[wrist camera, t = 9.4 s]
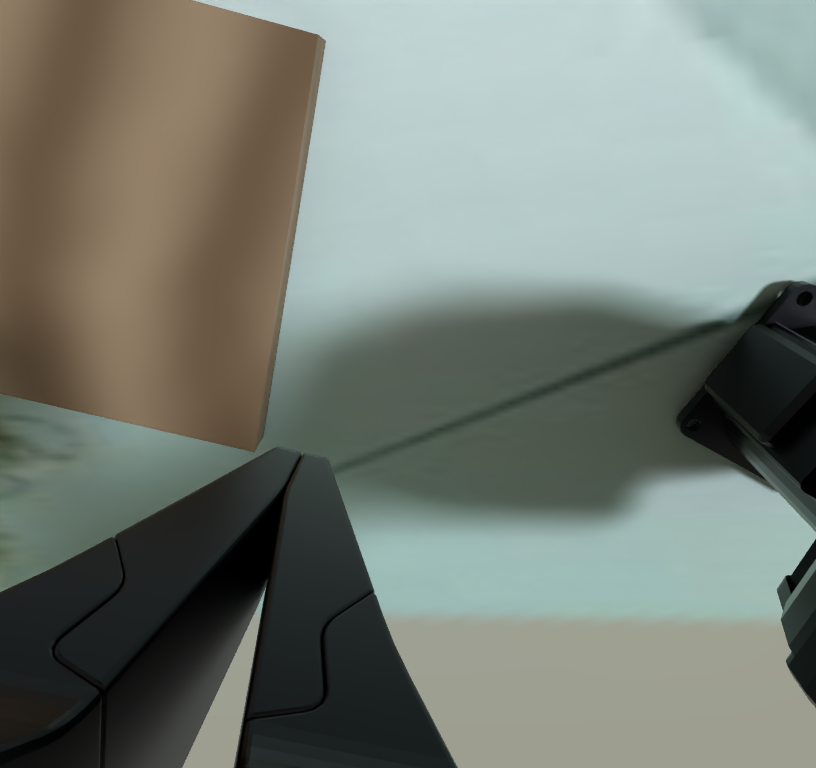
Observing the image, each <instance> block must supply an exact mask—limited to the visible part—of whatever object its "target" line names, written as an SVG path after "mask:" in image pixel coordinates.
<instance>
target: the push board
mask: <svg viewBox="0 0 816 768" xmlns="http://www.w3.org/2000/svg"><path fill="white" fill-rule="evenodd" d="M325 43H326V41H325V40H324V39H323V38H321V37H320V36H319V35H317V34H313V33H309V32H306V31H302V30H299V29H295V28H291V27H288V26H284V25H280V24H277V23H273V22H269V21H266V20H262V19H258V18H255V17H251V16H247V15H244V14H240V13H237V12H233V11H229V10H226V9H222V8H218V7H215V6H211V5H207V4H204V3H200V2H196V1H193V0H0V394H5V395H9V396H13V397H18V398H22V399H26V400H31V401H35V402H39V403H44V404H48V405H52V406H57V407H61V408H65V409H70V410H74V411H78V412H83V413H87V414H91V415H96V416H100V417H105V418H109V419H113V420H118V421H122V422H126V423H131V424H135V425H139V426H144V427H148V428H152V429H157V430H161V431H165V432H170V433H174V434H178V435H183V436H187V437H191V438H196V439H200V440H204V441H209V442H213V443H218V444H222V445H226V446H231V447H235V448H239V449H244V450H248V451H252V452H255V450H256V448H257V447H258V445H259V443H260V441H261V439H262V438H263V434H264V428H265V422H266V415H267V409H268V403H269V396H270V390H271V384H272V377H273V371H274V365H275V358H276V352H277V346H278V339H279V333H280V327H281V321H282V314H283V308H284V302H285V295H286V289H287V283H288V276H289V270H290V264H291V257H292V251H293V245H294V238H295V232H296V226H297V219H298V213H299V207H300V201H301V194H302V188H303V182H304V175H305V169H306V163H307V156H308V150H309V144H310V137H311V131H312V125H313V118H314V112H315V106H316V99H317V93H318V87H319V81H320V74H321V68H322V62H323V55H324V49H325Z"/></svg>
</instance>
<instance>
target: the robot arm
mask: <svg viewBox="0 0 816 768" xmlns="http://www.w3.org/2000/svg"><path fill="white" fill-rule="evenodd" d="M802 292H806V296H805V298H804V299H803V300H802V301H801V302H798V303H797V297H798V295H799V294H801V293H802ZM694 419H697V421H696V423H695V424H694V425H693V426H687V425H688V423H689V422H690V421H691V420H694ZM676 424H677V427H678V428H679V430H680V431H681V432H682V433H683V434H684V435H685V436H687V437H689V438H691V439H692V440H694V441H696V442H698V443H700V444H701V445H703V446H705V447H707V448H709V449H710V450H712V451H714V452H716V453H718V454H720V455H721V456H723V457H725V458H727V459H729V460H730V461H732V462H734V463H736V464H738V465H740V466H741V467H743V468H745V469H747V470H749V471H750V472H752V473H754V474H756V475H758V476H759V477H761V478H763V479H765V480H767V481H768V482H769V483H770V484H771V485H772V486H773V487H774V488H775V489H776V490H777V492H778V493H779V494H780V495H781V496H782V497H783V498H784V499H785V500H786V501H787V502H788V503H789V504H790V505H791V506H792V507H793V508H794V509H795V510H796V512H797V513H798V514H799V515H800V516H801V517H802V518H803V519H804V520H805V521H806V522H807V523H808V524H809V525H810V526H811V527H812V528H813V529H814V531H815V532H816V286H815V285H812V284H810V283H807V282H804V281H799V282H795V283H793V284H791V285H790V286H789V287H788V288H786V289H785V291H784V292H783V293H782V294H781V295H780V297H779V298H778V299H777V300H776V301H775V302H774V304H773V305H772V306H771V307H770V308H769V309H768V311H767V312H766V313H765V314H764V315H763V317H762V318H761V319H760V320H759V321H758V322H757V324H756V325H755V326H752V327H751V328H750V329H749V330H748V331H747V332H746V333H745V335H744V336H743V337H742V338H741V339H740V340H739V342H738V343H737V344H736V345H735V346H734V348H733V349H732V350H731V351H730V352H729V353H728V355H727V356H726V357H725V358H724V359H723V360H722V362H721V363H720V364H719V365H718V366H717V368H716V369H715V370H714V371H713V372H712V373H711V375H710V376H709V377H708V378H707V379H706V381H705V385H704V386H703V387H702V388H701V389H700V391H699V392H698V393H697V394H696V395H695V396H694V398H693V399H692V400H691V401H690V402H689V403H688V405H687V406H686V407H685V408H684V409H683V411H682V412H681V413H680V414H679V416H678V417H677V420H676ZM265 588H266V590H265ZM264 590H265V596H264V601H263V607H262V613H261V618H260V624H259V629H258V635H257V640H256V647H255V652H254V657H253V664H252V668H251V674H250V680H249V686H248V691H247V696H246V703H245V708H244V713H243V719H242V725H241V730H240V736H239V741H238V747H237V752H236V758H235V763H234V768H458V767H457V765H456V764H455V762H454V760H453V758H452V756H451V754H450V752H449V750H448V748H447V746H446V745H445V743H444V741H443V739H442V737H441V735H440V733H439V731H438V729H437V727H436V725H435V723H434V722H433V720H432V718H431V716H430V714H429V712H428V710H427V708H426V706H425V704H424V702H423V700H422V699H421V697H420V695H419V693H418V691H417V689H416V687H415V685H414V683H413V681H412V679H411V677H410V675H409V673H408V671H407V669H406V667H405V665H404V663H403V661H402V659H401V657H400V655H399V653H398V651H397V649H396V646H395V644H394V642H393V639H392V637H391V634H390V632H389V629H388V627H387V624H386V622H385V619H384V617H383V614H382V611H381V608H380V605H379V602H378V599H377V597H376V595H375V594H374V589H373V586H372V583H371V580H370V577H369V574H368V572H367V569H366V566H365V563H364V560H363V557H362V554H361V552H360V549H359V546H358V543H357V540H356V537H355V534H354V532H353V529H352V526H351V523H350V520H349V517H348V514H347V511H346V509H345V506H344V503H343V500H342V497H341V494H340V491H339V489H338V486H337V483H336V480H335V477H334V474H333V471H332V469H331V466H330V463H329V461H328V459H327V458H324V457H320V456H315V455H311V454H303V455H302V457H301V453H300V452H298V451H294V450H289V449H285V448H281V447H276V448H274V449H272V450H270V451H268V452H266V453H265V454H263V455H261V456H259V457H257V458H255V459H254V460H252V461H250V462H248V463H246V464H244V465H243V466H241V467H239V468H237V469H235V470H233V471H232V472H230V473H228V474H226V475H224V476H222V477H221V478H219V479H217V480H215V481H213V482H211V483H210V484H208V485H206V486H204V487H202V488H200V489H199V490H197V491H195V492H193V493H191V494H190V495H188V496H186V497H184V498H182V499H180V500H179V501H177V502H175V503H173V504H171V505H169V506H168V507H166V508H164V509H162V510H160V511H158V512H157V513H155V514H153V515H151V516H149V517H147V518H146V519H144V520H142V521H140V522H138V523H136V524H135V525H133V526H131V527H129V528H127V529H125V530H124V531H122V532H120V533H118V534H116V536H115V538H113V537H111V538H109V539H107V540H105V541H103V542H101V543H99V544H98V545H96V546H94V547H92V548H90V549H88V550H86V551H84V552H83V553H81V554H79V555H77V556H75V557H73V558H71V559H69V560H67V561H65V562H63V563H61V564H59V565H57V566H55V567H53V568H51V569H50V570H47V571H45V572H43V573H41V574H39V575H37V576H34V577H32V578H30V579H28V580H26V581H24V582H21V583H19V584H17V585H15V586H13V587H11V588H8V589H6V590H4V591H2V592H0V768H182V767H183V765H184V762H185V760H186V758H187V756H188V754H189V751H190V750H191V747H192V745H193V743H194V741H195V739H196V736H197V735H198V732H199V730H200V728H201V726H202V724H203V722H204V720H205V718H206V715H207V713H208V711H209V709H210V707H211V705H212V703H213V700H214V698H215V696H216V694H217V692H218V690H219V688H220V685H221V683H222V681H223V679H224V677H225V675H226V673H227V670H228V668H229V666H230V664H231V662H232V660H233V658H234V656H235V653H236V651H237V649H238V647H239V645H240V643H241V640H242V638H243V636H244V634H245V632H246V630H247V628H248V626H249V623H250V621H251V619H252V617H253V615H254V613H255V611H256V608H257V606H258V604H259V602H260V599H261V597H262V595H263V593H264ZM777 593H778V596H779V599H780V602H781V606H782V609H783V614H782V617H781V622H782V625H783V628H784V632H785V635H786V638H787V642H788V645H789V647H790V649H791V651H792V652H791V654H790V655H789V656H788V658H787V659H786V663H787V666H788V668H789V670H790V672H791V674H792V675H793V677H794V679H795V680H796V681H797V683H798V684H799V686H800V687H801V689H802V690H803V692H804V693H805V695H806V696H807V698H808V699H809V700H810V702H811V703H812V704H813V705H814V706H815V707H816V540H815V541H814V543H813V544H812V546H811V547H810V548H809V550H808V551H807V553H806V554H805V556H804V557H803V559H802V560H801V562H800V563H799V565H798V566H797V568H796V569H795V571H794V572H793V574H792V575H791V576H790V575H787V576H785V578H784V579H783V581H782V582H781V584H780V585H779V587H778V588H777Z"/></svg>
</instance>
